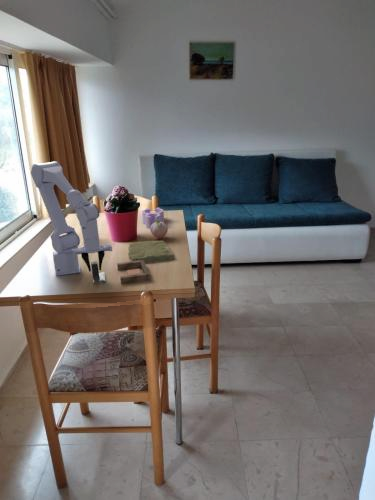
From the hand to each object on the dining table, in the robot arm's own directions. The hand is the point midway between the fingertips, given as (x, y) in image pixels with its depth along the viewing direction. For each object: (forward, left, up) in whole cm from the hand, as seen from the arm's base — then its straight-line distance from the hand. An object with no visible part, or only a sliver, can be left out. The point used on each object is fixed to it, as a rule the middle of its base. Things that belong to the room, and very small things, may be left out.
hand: (95, 270), depth 143 cm
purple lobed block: (+35, +67, -4) cm, 76 cm away
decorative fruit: (+33, +39, -4) cm, 51 cm away
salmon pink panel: (+15, 0, -4) cm, 15 cm away
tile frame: (+14, 0, -4) cm, 15 cm away
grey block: (+1, 0, -4) cm, 4 cm away
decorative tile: (+24, +20, -5) cm, 32 cm away
